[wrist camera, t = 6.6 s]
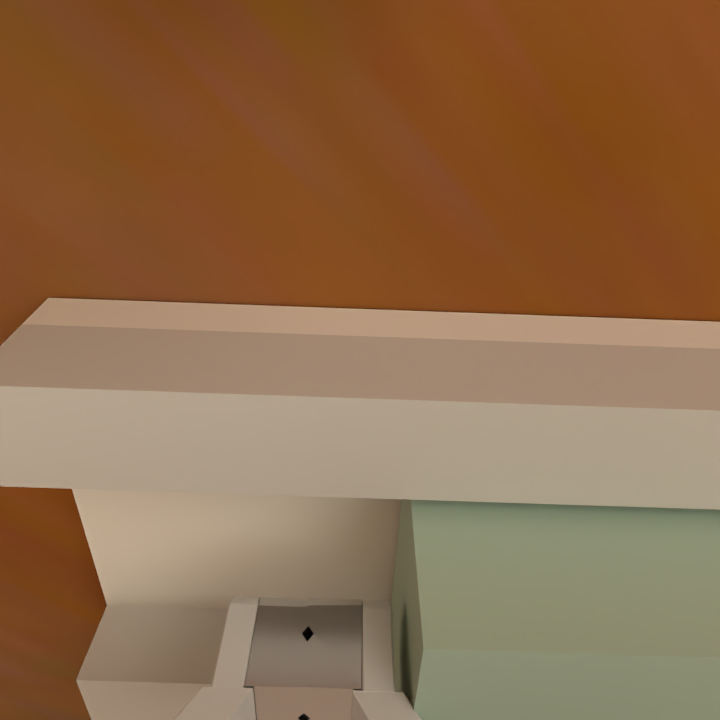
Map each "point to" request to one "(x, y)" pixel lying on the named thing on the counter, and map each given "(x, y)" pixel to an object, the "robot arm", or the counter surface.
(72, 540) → the counter surface
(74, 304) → the chute
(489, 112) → the counter surface
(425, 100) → the counter surface
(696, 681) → the block
